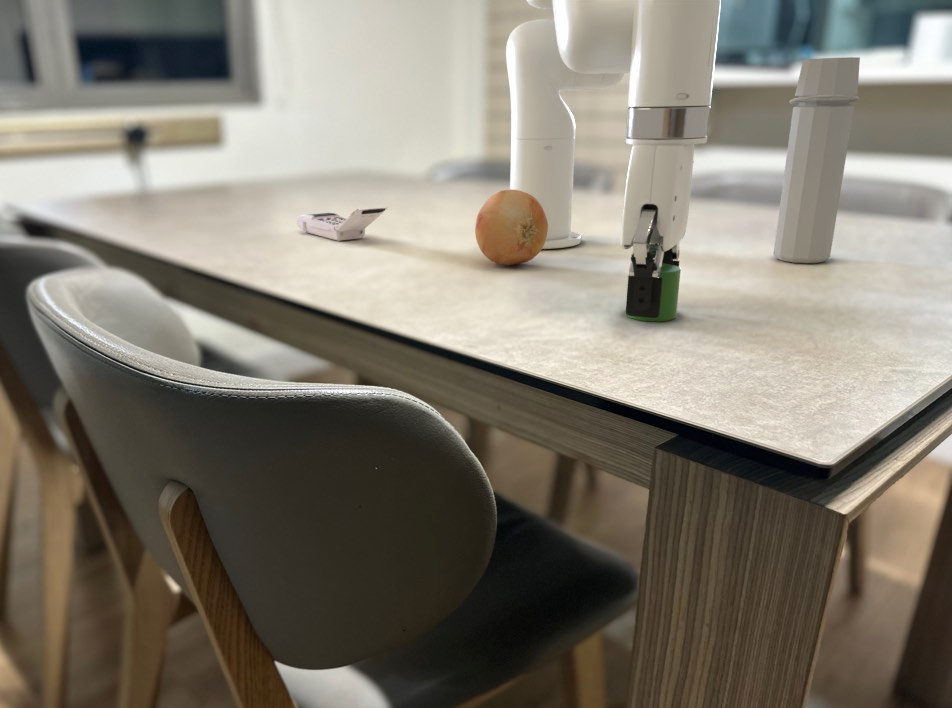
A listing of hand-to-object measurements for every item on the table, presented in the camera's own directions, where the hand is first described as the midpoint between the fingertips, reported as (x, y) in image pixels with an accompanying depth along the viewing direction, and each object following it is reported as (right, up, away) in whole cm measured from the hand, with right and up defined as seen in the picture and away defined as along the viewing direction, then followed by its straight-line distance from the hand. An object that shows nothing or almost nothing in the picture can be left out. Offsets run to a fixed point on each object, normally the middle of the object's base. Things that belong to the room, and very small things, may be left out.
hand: (651, 305), depth 83 cm
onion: (-11, +9, +27) cm, 31 cm away
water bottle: (+28, +10, +27) cm, 40 cm away
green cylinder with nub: (0, -1, 0) cm, 1 cm away
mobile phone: (-37, +18, +53) cm, 68 cm away
